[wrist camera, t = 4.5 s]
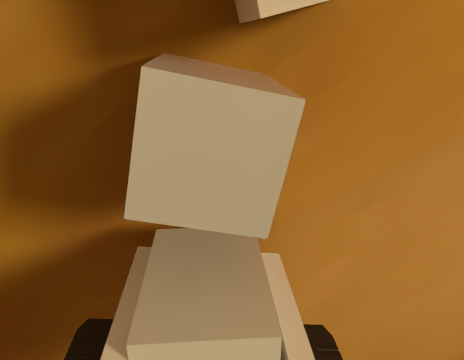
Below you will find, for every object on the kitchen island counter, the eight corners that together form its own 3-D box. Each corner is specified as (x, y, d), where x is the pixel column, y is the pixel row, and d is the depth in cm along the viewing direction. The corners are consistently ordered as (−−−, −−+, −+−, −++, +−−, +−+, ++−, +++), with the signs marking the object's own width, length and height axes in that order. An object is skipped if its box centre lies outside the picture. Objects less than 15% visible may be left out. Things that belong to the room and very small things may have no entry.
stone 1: (243, 166, 16) (267, 239, 10) (151, 151, 15) (124, 218, 10) (265, 73, 15) (305, 100, 9) (164, 52, 14) (141, 66, 8)
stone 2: (252, 303, 17) (276, 439, 11) (163, 308, 16) (141, 449, 11) (254, 225, 15) (281, 336, 10) (156, 229, 15) (126, 345, 9)
